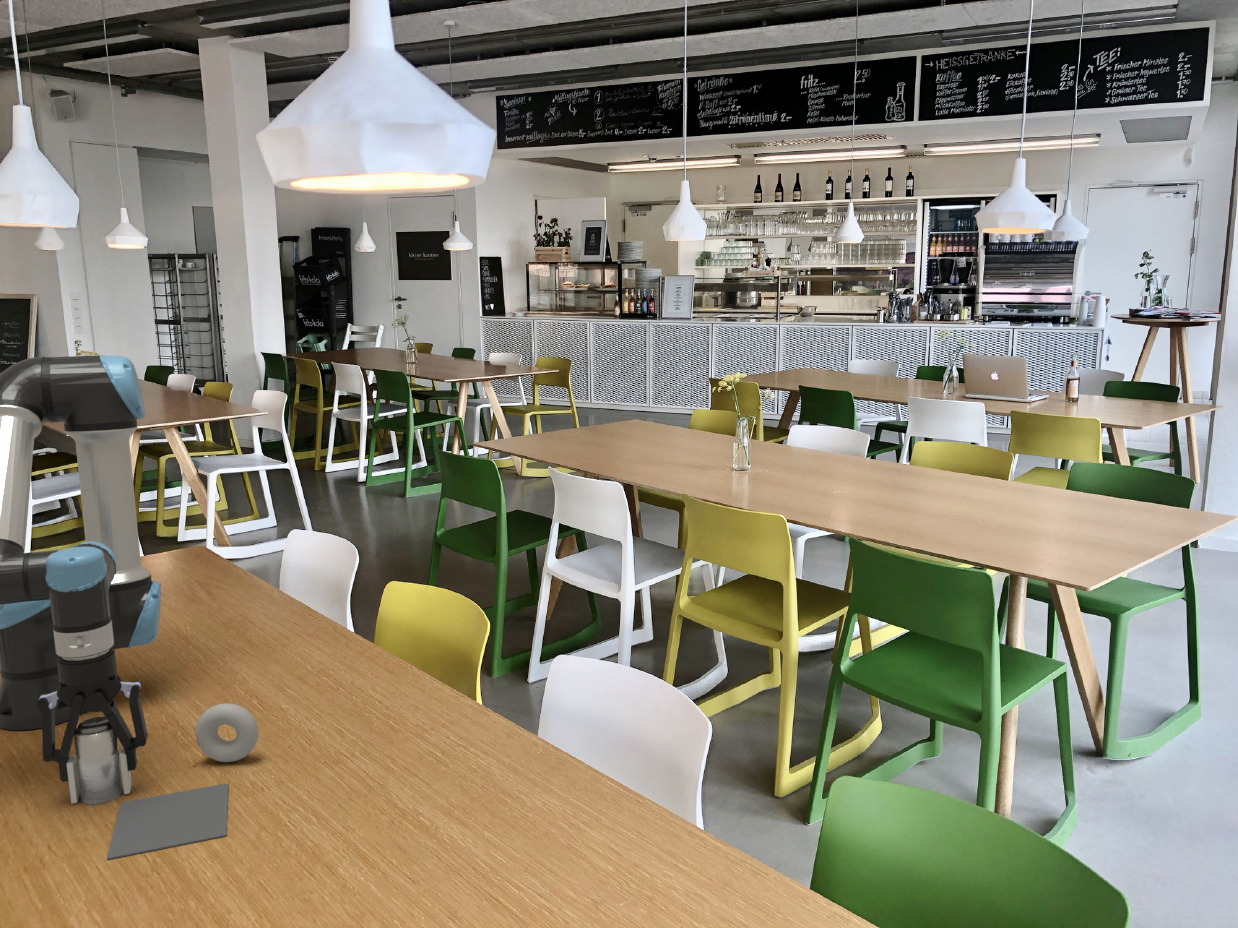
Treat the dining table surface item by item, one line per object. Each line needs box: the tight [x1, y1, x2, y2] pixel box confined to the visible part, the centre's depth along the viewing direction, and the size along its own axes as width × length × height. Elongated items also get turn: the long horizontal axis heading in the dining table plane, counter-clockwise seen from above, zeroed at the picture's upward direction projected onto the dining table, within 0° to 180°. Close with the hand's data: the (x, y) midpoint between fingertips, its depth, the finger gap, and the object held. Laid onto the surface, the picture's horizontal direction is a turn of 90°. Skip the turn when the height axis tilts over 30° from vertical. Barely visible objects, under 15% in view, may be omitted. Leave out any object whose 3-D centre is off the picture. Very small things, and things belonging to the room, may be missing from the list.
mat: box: [106, 782, 229, 861], centre depth 135 cm, size 15×15×1 cm
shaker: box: [73, 716, 124, 806], centre depth 140 cm, size 6×6×12 cm
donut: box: [194, 702, 259, 763], centre depth 151 cm, size 10×4×10 cm, turn 92°
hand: (102, 793), depth 141 cm, fingers open, 6 cm apart
